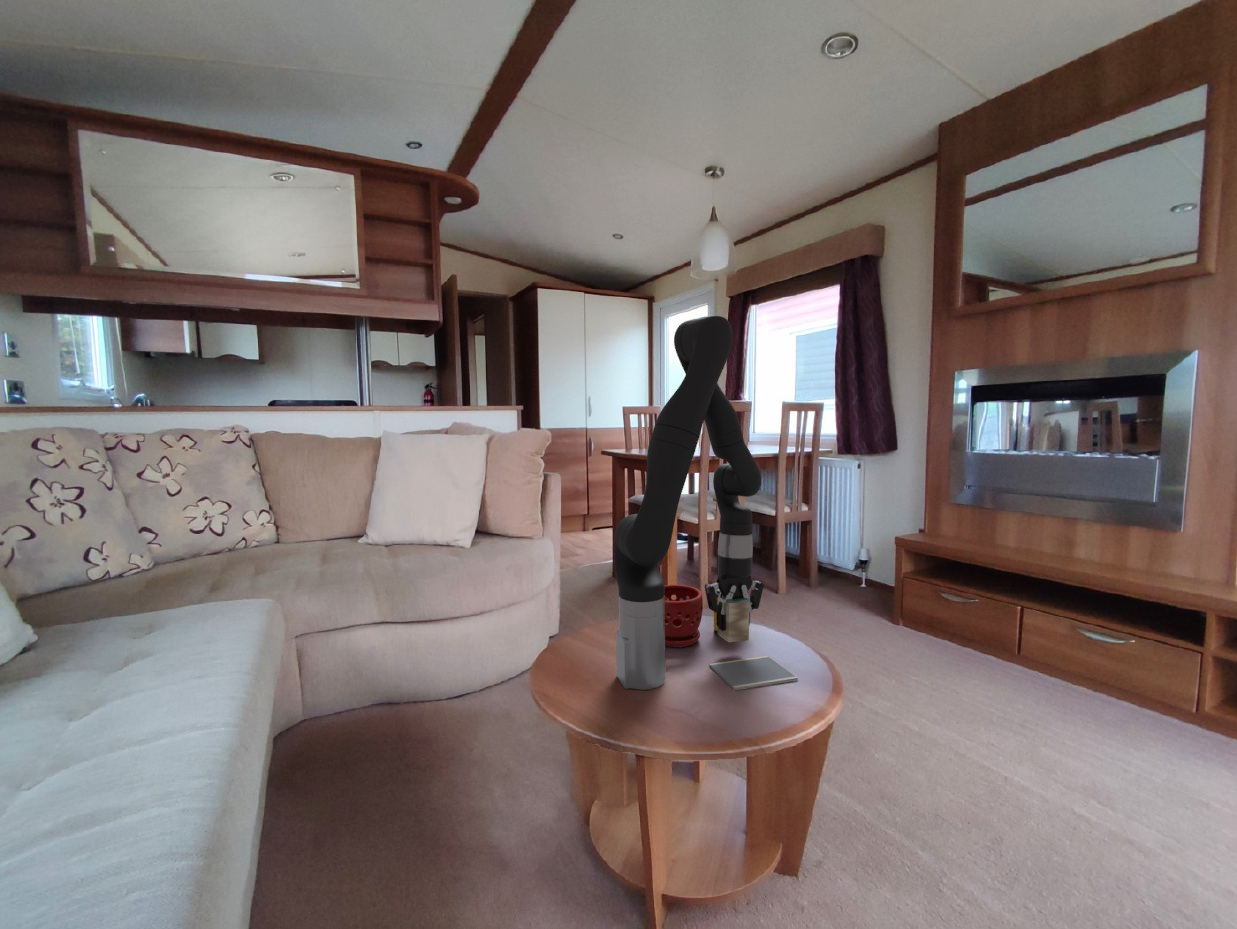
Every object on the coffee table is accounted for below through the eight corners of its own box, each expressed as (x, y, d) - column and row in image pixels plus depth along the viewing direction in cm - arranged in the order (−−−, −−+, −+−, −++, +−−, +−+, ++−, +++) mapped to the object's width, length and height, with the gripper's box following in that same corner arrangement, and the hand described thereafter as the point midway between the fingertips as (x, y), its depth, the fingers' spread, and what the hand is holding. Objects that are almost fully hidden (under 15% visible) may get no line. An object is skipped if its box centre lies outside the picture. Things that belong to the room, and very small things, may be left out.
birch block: (728, 642, 112) (729, 601, 112) (717, 634, 117) (718, 595, 117) (748, 640, 114) (749, 599, 113) (737, 632, 118) (738, 593, 118)
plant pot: (646, 631, 131) (646, 584, 130) (698, 630, 130) (698, 583, 130) (649, 652, 117) (649, 600, 117) (707, 651, 117) (706, 599, 117)
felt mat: (734, 690, 99) (734, 687, 99) (709, 666, 109) (709, 664, 109) (797, 680, 103) (797, 677, 103) (767, 658, 113) (767, 655, 113)
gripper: (714, 558, 109) (712, 637, 109) (772, 555, 113) (770, 631, 114) (698, 551, 116) (696, 625, 117) (754, 548, 120) (752, 620, 121)
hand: (733, 628), depth 115 cm, fingers closed on birch block, 5 cm apart
